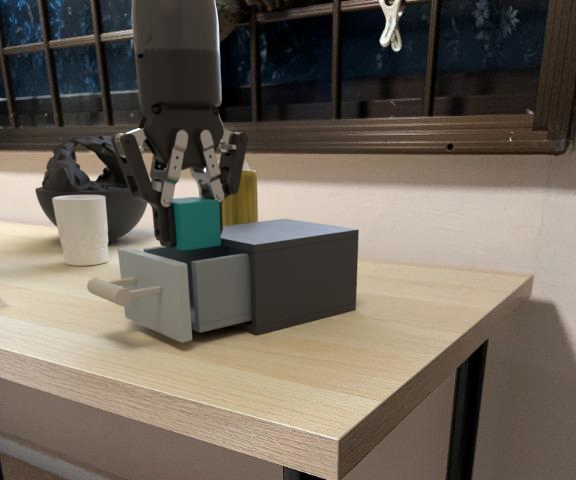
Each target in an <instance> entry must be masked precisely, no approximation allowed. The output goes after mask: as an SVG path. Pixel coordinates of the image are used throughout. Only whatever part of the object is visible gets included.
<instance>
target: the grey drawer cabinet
mask: <svg viewBox="0 0 576 480" xmlns="http://www.w3.org/2000/svg"><path fill="white" fill-rule="evenodd" d="M359 231H360V230H359V229H358V228H352V227H344V226H337V225H331V224H325V223H324V224H323V223H318V222H310V221H303V220H296V219H290V218H279V219H271V220H262V221H261V220H260V221H258V222H253V223H244V224H236V225H228V226H223V231H222V234H221V246H225V247H229V248H234V249H238V250H243V251H248V252H250V278H251V311H252V320H251V321H247V322H243V323H239V324H235V325H230V326H231V327H234V328H236V329H239V330H242V331H244V332H247V333H250V334H252V335H255V336H259V335H263V334H267V333H270V332H275V331H278V330H279V331H280V330H282V329H285V328H289V327H293V326H299V325H302V324H305V323H309V322H313V321H318V320H320V319H321V320H322V319H324V318H328V317H332V316H335V315H340V314H344V313H347V312H350V311H355V310H356V309H357V293H358V292H357V290H358V289H357V287H358V260H359V235H360V233H359Z"/></svg>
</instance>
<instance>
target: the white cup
mask: <svg viewBox="0 0 576 480" xmlns="http://www.w3.org/2000/svg"><path fill="white" fill-rule="evenodd" d="M52 202H53V207H54V212H55V217H56V223H57V227H56V229H57V232H58V233H57V234H58V236H59V241H60V246H61V248H62V253H63V261H64V263H65V265H69V266H80V267H86V266H96V265H102V264H106V263H108V262H109V261H110V252H109V246H108V245H109V241H108V224H107V211H106V197H105V196H102V195H69V196H59V197H54V198H52Z"/></svg>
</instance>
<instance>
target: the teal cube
mask: <svg viewBox="0 0 576 480" xmlns="http://www.w3.org/2000/svg"><path fill="white" fill-rule="evenodd" d="M171 207H173V208H174V212H175V225H176V239H177V245H176V246H175V247H170V248H174V249H178V250H182V251H188V250H195V249H202V248H209V247H216V246H221V234H220V212H219V200H214V199H206V198H199V196H190V197H178V198H177V197H175V198H173V201H172V204H171ZM159 244H160V243H159ZM159 246H162V245H161V244H160V245H159Z"/></svg>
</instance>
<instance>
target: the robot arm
mask: <svg viewBox="0 0 576 480" xmlns="http://www.w3.org/2000/svg"><path fill="white" fill-rule="evenodd" d="M131 26H132V27H131V28H132V38H133V49H134V60H135V72H136V84H137V93H138V103H139V105H140V109H141V116H140V119H139V122H138V128H135V129H132V130H130V131H127V132H119V133H114V134H112V135H111V136H112V138H111V142H112V145H113V148H114V150H115V153H116V156H117V159H118V161H119V164H120V167H121V170H122V172H123V175H124V178H125V180H126V183H127V186H128V189H129V191H130V194H131V196H132V198H133V199H135V200H141V201H144V202H147V204H148V205H150V207H151V211H152V221H153V233H154V237H155V240H156V241H159V244H161V245H160V246H165V247H175V246H176V245H177V239H176V225H175V212H174V208H173V207H171V204H172V201H173V199H174V195H175V190H176V185H177V183H178V182H179V181H180V176H181V172H182V171H185V170H187V169H188V170H189V171H190V174H191V177H192V178H193V180H195V182H196V185H197V188H198V193H199V192H200V195H201V198H206V199H214V200H219V212H220V234H222V231H223V224H222V223H223V220H222V202H223V200H224V199H225V198H226V197H228V196H229V195H231V194H236V193H237V192H238V189H239V184H240V179H241V174H242V169H243V163H244V161H245V157H246V152H247V147H248V142H249V141H248V140H249V137H248V135H247V133H246V132H234V131H232V130H229V129H227V128H225V126H224V123H223V121H222V119H221V116H220V107H221V105H222V101H223V99H222V97H223V96H222V76H221V75H222V73H221V51H220V29H219V28H220V27H219V26H220V25H219V16H218V10H217V3H216V0H131ZM144 144H145V145H146V147H147V148H148V150H149V151H150V152H151V154H152V157H151V158H152V159H151V165H150V171H149V172H148V169H147V166H146V164H145V161H144V157H143V154H144V152H145V148H144ZM218 148H219V150H220V156H219V157H220V158H219V161H220V163H219V165H218V162H217V161H218V158H217V155H216V151H217V149H218Z"/></svg>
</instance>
